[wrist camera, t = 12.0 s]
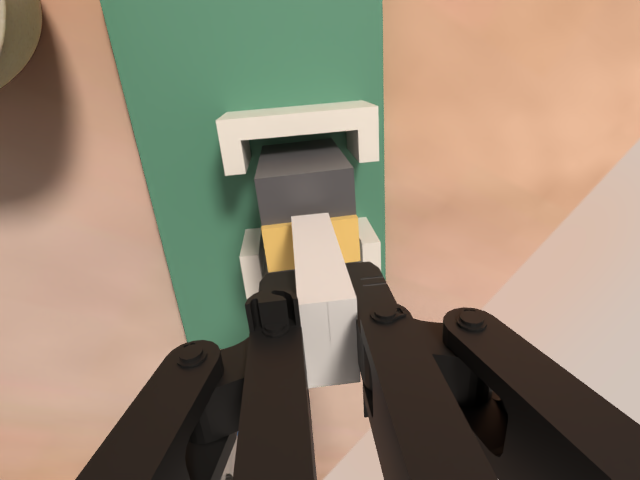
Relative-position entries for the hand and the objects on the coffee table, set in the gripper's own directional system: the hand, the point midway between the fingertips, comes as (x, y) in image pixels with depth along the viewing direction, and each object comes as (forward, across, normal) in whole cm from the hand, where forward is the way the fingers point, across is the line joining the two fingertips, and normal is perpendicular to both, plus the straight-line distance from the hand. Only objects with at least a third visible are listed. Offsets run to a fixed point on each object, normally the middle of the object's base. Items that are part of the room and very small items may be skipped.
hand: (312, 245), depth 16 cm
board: (+10, -2, 0) cm, 10 cm away
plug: (+8, 0, 0) cm, 8 cm away
